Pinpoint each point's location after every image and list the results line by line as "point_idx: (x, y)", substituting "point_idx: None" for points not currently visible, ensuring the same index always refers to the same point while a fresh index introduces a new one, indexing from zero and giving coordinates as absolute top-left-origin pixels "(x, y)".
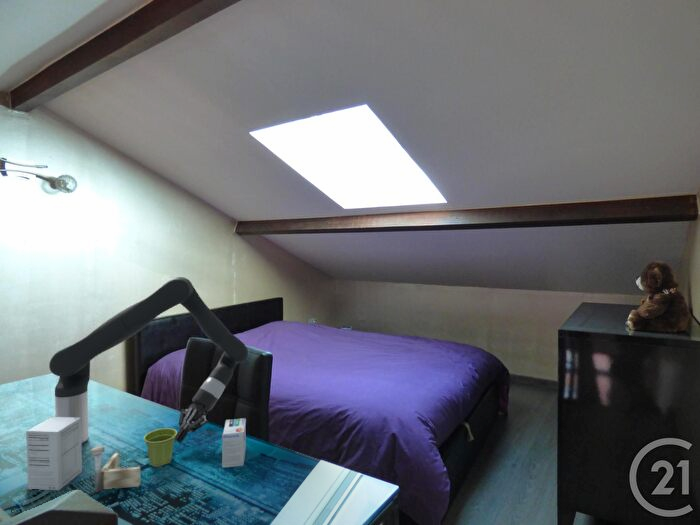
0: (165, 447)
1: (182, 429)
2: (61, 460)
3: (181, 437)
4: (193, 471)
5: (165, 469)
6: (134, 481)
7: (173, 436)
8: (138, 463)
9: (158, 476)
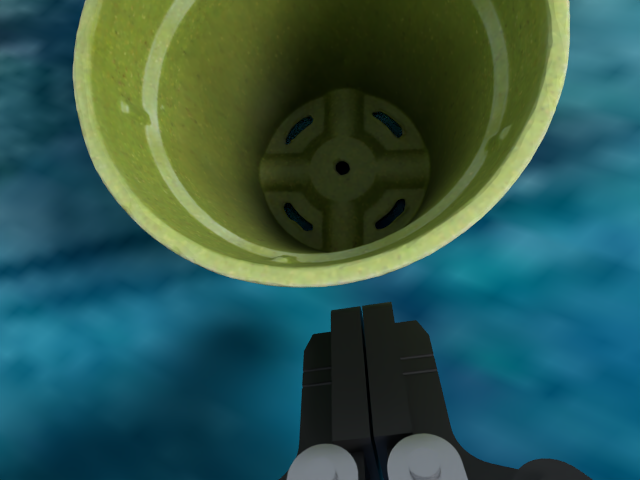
0: (170, 101)
1: (357, 436)
2: None
3: (304, 371)
4: (16, 303)
5: None
6: None
7: (107, 163)
8: None
9: None
